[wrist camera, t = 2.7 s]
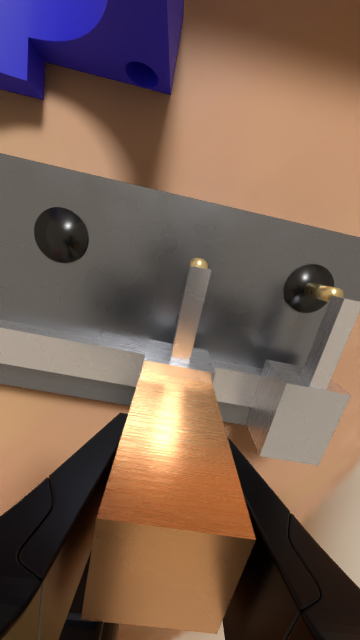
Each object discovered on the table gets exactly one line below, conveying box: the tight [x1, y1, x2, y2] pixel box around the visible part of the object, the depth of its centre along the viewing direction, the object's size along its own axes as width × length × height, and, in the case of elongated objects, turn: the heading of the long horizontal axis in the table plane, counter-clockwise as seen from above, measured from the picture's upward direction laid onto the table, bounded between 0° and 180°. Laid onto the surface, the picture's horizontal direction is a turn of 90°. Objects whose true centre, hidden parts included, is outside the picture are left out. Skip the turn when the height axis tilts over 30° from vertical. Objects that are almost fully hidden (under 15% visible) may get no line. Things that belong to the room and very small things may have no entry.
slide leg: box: [81, 258, 256, 634], centre depth 8 cm, size 8×3×9 cm, turn 168°
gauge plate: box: [0, 153, 360, 466], centre depth 12 cm, size 12×22×5 cm, turn 78°
